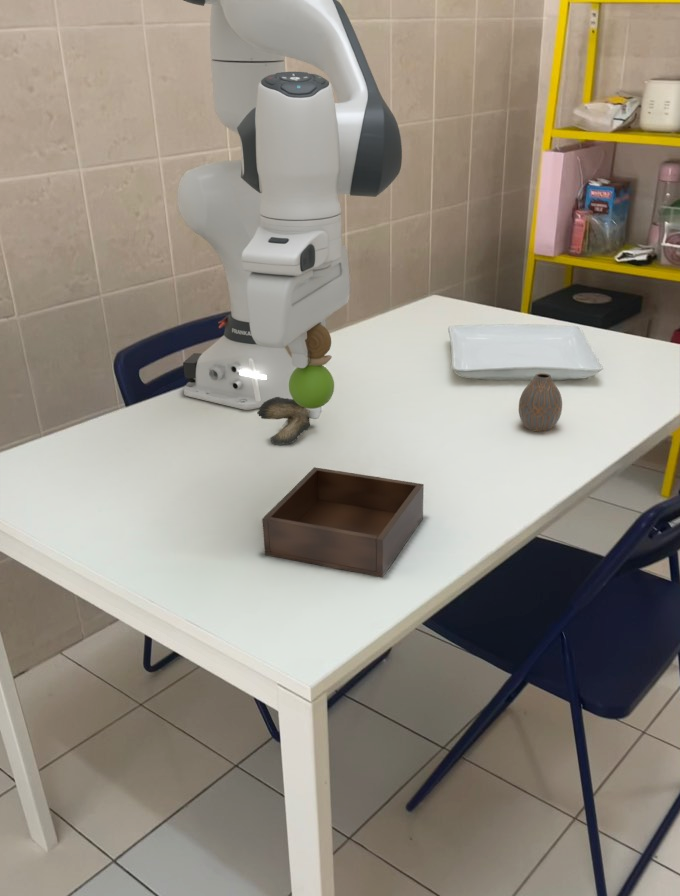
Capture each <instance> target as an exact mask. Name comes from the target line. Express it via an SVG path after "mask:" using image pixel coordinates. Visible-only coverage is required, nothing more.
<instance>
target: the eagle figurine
mask: <svg viewBox="0 0 680 896" xmlns="http://www.w3.org/2000/svg"><path fill="white" fill-rule="evenodd" d="M322 412H323V410H322V406H321V407H319V408H315V409H309V408H304V407H302V406H300V405H299V404H297V403H296V402H295V401H294V400H293V399H288V398H287V399H286V398H285V399H284V398H280V397H275V398H272V399H269V400H267V401H266V402H264V403H263V404H262V405H261V407H259V408H258V411H257V415H258V417H260V418H261V419H262V420H282V419H287V420H286V421H285V422H284V423H283V424H282V428H281V429H280V430H279V431H278V432H277V433H276V434H274V435H272V436H271V437H270V442H271V444H272V445H274V446H275V445H279V446H281V445H287V444H291V443H293V442H295V441H296V440H297V439H298V437H300V436H301V435H302V434H303V433H304V432H306V431H308V430H309V428H311V422H310V419H311V420H318V419H319V418H320V416H321V414H322Z"/></svg>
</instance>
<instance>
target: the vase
mask: <svg viewBox="0 0 680 896" xmlns="http://www.w3.org/2000/svg"><path fill="white" fill-rule="evenodd" d="M562 410H563V399H562V394H561V392H560V390H559V389H558V387H557V385H556V384H555V382H554V380H552V378H551V376H550V375H549V374H546V373H539V374H536V375H535V377H534V379H533V380H531V382H530V383H529V384H527V386H526V387H525V388H524V389H523V391H522V393H521V394H520V398H519V401H518V416H519V419H520V421H521V423H522V425H524V427H525V428H527V429H528V430H530V431H534V432H547V431H550V430H551V429H552V428H553V427H555V426H556V425H557V423H558V422H559V420H560V418H561V415H562Z"/></svg>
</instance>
